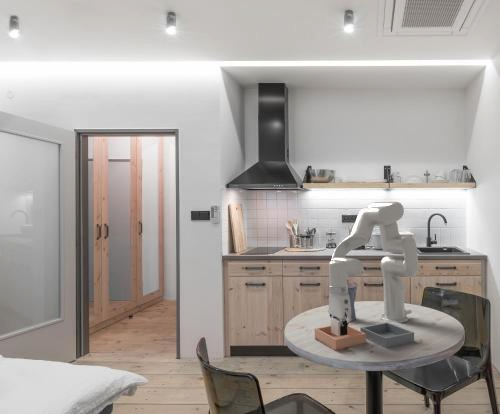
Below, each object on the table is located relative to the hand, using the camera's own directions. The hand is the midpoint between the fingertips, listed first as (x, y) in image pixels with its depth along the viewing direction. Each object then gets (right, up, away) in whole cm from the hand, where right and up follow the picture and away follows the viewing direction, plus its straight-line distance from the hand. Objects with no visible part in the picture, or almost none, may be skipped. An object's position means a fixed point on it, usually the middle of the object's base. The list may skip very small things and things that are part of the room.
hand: (339, 332), depth 155 cm
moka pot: (+11, -4, +31) cm, 33 cm away
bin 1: (0, -4, 0) cm, 4 cm away
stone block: (0, 0, 0) cm, 0 cm away
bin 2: (+20, -3, 0) cm, 20 cm away
